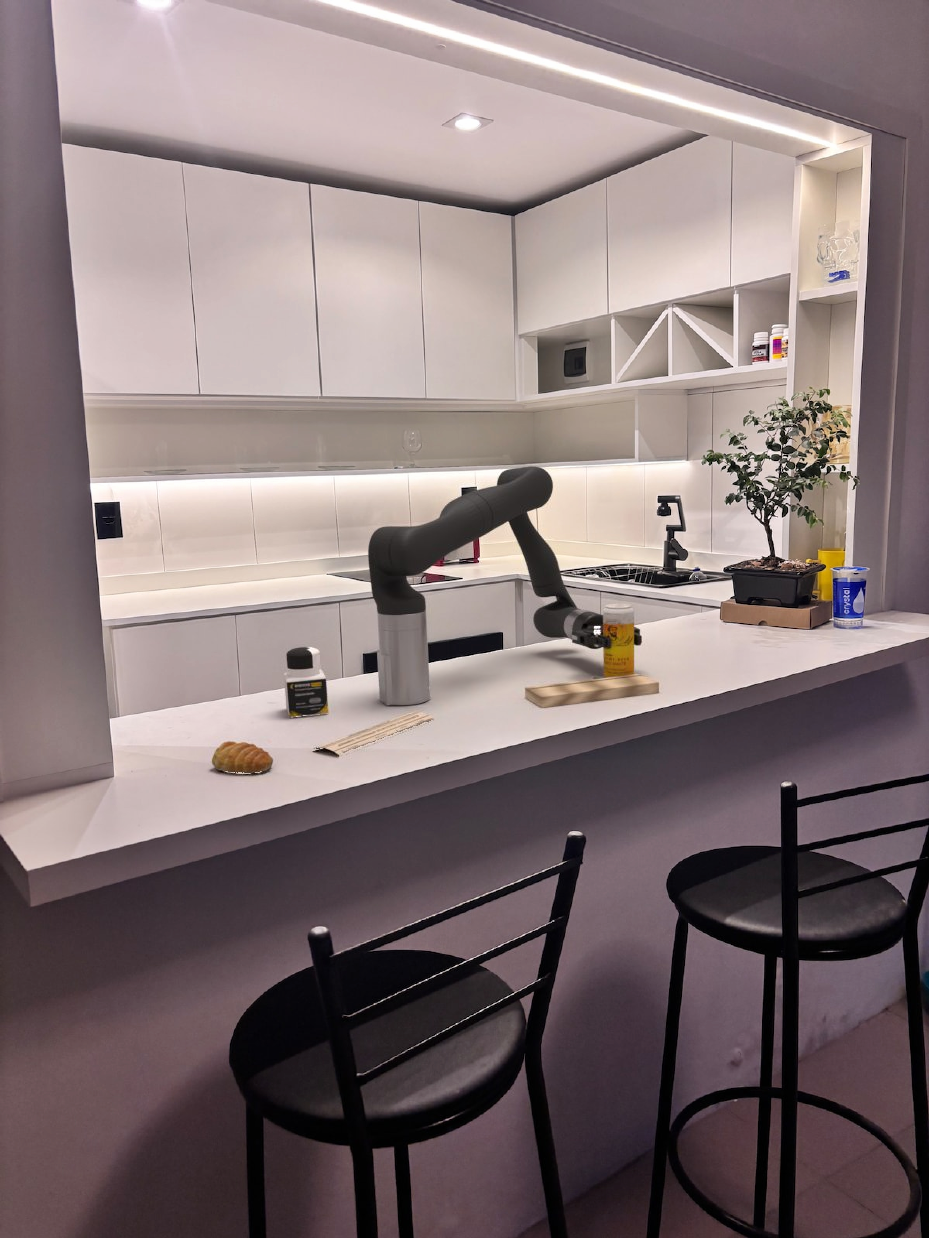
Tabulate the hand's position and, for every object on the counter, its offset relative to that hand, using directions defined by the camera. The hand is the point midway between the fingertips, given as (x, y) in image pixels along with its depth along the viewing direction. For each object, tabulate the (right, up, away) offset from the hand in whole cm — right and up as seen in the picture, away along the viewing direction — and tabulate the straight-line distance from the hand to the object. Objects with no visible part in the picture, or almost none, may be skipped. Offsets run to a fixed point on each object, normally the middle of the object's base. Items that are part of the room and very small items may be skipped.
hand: (624, 642), depth 175 cm
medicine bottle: (-61, -13, -10) cm, 63 cm away
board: (-7, -10, -7) cm, 14 cm away
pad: (0, -8, +4) cm, 9 cm away
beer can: (0, -8, +4) cm, 9 cm away
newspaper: (-47, -16, -26) cm, 56 cm away
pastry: (-65, -18, -40) cm, 79 cm away
